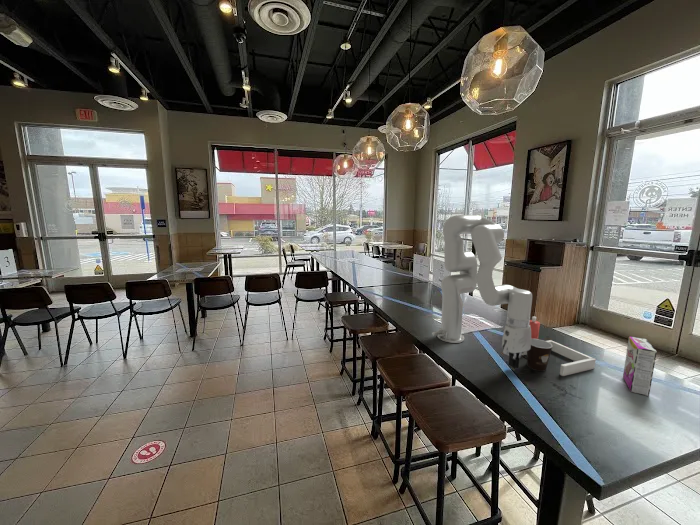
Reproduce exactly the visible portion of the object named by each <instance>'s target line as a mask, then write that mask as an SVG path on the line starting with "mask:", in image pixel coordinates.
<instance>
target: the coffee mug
mask: <svg viewBox="0 0 700 525" xmlns="http://www.w3.org/2000/svg"><path fill="white" fill-rule="evenodd" d="M547 341H548V340H543V339H539V338H538V339H531V348H530V350H528V351H527V355H526V357H525V355H521V357H522V358H524V360H526V365H527V366H528V368H530V369H532V370H534V371H539V372H545V371H546V370H547V367H548V364H549V360H550V356H551V354H552V353H551V352H552V344H550V343H549V342H547Z"/></svg>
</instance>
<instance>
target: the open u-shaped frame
mask: <svg viewBox="0 0 700 525" xmlns="http://www.w3.org/2000/svg"><path fill="white" fill-rule="evenodd" d="M546 341H547V342H549V343H550V344H552V350H551V352H554V353H556V354H558V355H560V356H563V357H565V358H566V359H569V360H572V361H573V362H572V361H571V362H567V363H564V364H563V363H562V364H560V370H559V375H560V376H561V377H565V376H569V375H574V374H578V373H582V372H585V371H590V370H594V369H595V366H596V361H597V359H596V358H594V357H592V356H590V355H587V354H585V353H582V352H580V351H578V350H576V349H572V348H571V347H568V346H565V345H563V344H561V343H559V342H556V341H553V340H552V339H550V340H546ZM522 355H523V356H527V351H525V352H523V353H522Z"/></svg>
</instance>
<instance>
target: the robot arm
mask: <svg viewBox="0 0 700 525" xmlns="http://www.w3.org/2000/svg"><path fill="white" fill-rule="evenodd" d="M442 234H443V235H442V236H443V241H444V250H443V251H444V253H443V254H444V259H443V260H444V268H445V270H446V271H447V272H450V273H457V274H449V275H446V276H445V277H444V278H442V280H441V283H440V288H441V296H442V299H441V300H442V301H441V302H442V305H441V320H440V321H441V322H440V323H441V324H440V327H439V328H438V330H437V331H432V332H431V335H432V336H433V337H434V336H437V339H439V340H440V341H443V342H446V343H450V344H458V343H462V342H464V341H465V336H464V335H463V334H462V329H463V328H462V326H463V312H464V303H463V302H464V301H463V299H462V297H461V295H463V294H468V293H473V292H474V291H475V290H476V289H477V288H478V292H479V294H480V298H481V299H482V301H483V302H484V303H485V304H486V305H488V306H491V307H492V306H501V305H507V304H508V305H507V315H506V321H505V326H504V330H503V334H502V338H501V339H502V340H501V348H502V349H503V350H502V354H503V355H507V356H508V366H509V367H511V368H513V369H518V368H519V367H520V359H521V357H522V356H521V355H522V353H523V352H525V351H528V350H530V348H531V327H530V325H529V324H530V320H531V312H532V304H533V293H532V292H531V291H530V290H527V289H523V288H522V289H521V288H517V287H515V286H513V285H510V284H499V285H495V283H494V279H493V271H494V269H495V267H496V266H497V264H499V263H500V262H501V260H502V254H501V251H500V249H499V245H498V244H499V243H501V242H502V241H504V238H505V231H504V229H503V227H502V226H501V225H499V224H497V223H496V222H494V221H492V220H490V219H488V218H486V217H484V216H482V215H479V214H458V215H453V216H450V217H448V218H447V219H446V221H445V222H444V224H443V228H442ZM463 234H468V235H469V234H470V237H471V240H472V243H473V247H474V249H475V253H476V255H475V254H474V253H473V252H472V251H464V248H465V246H464V245H465V244H464V240H463V238H462V236H461V235H463ZM477 258H478V260H477ZM478 261H479V266H478Z"/></svg>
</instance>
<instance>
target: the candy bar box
mask: <svg viewBox="0 0 700 525" xmlns="http://www.w3.org/2000/svg"><path fill="white" fill-rule="evenodd" d="M656 357H657V350H656V349H655V347H654V346H652V344H651V343H650V342H649V340H648V339H646V338H641V337H635V336H628V342H627V348H626V355H625V361H624V367H623V373H622V378H623V380H624V381H625V384H626V385H627V387H628V390H629V391H630V393H634V394H637V395H642V396H646V397H650V392H651V387H652V380H653V377H654V369H655V364H656Z"/></svg>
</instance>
